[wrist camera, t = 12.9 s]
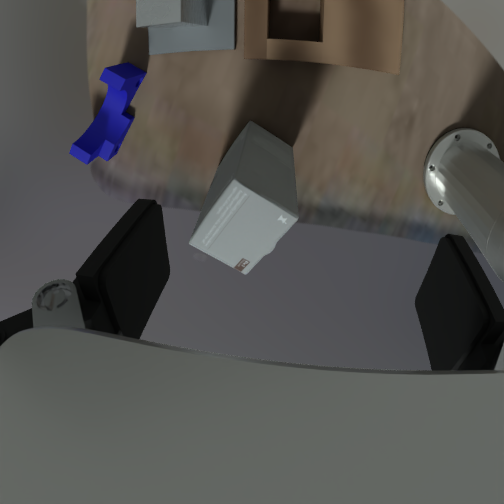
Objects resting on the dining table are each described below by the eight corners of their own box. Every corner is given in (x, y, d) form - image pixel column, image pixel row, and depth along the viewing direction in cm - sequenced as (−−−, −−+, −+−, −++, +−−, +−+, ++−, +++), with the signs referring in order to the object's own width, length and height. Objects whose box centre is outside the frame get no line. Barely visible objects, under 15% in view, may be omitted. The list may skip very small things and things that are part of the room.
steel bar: (208, -6, 27) (181, -21, 19) (207, 26, 29) (180, 21, 21) (173, -3, 27) (136, -13, 19) (173, 28, 29) (136, 27, 21)
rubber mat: (235, -29, 25) (234, -31, 25) (235, 49, 31) (234, 49, 31) (150, -20, 26) (147, -21, 25) (151, 54, 32) (149, 55, 31)
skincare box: (250, 118, 36) (228, 167, 24) (299, 151, 38) (305, 217, 26) (214, 170, 41) (178, 242, 28) (260, 199, 43) (246, 280, 30)
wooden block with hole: (393, -6, 25) (404, -11, 21) (388, 71, 31) (398, 75, 27) (249, -22, 26) (245, -29, 23) (248, 57, 32) (244, 58, 29)
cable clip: (117, 153, 40) (96, 170, 36) (92, 137, 39) (69, 153, 34) (156, 78, 34) (136, 85, 29) (128, 62, 33) (104, 67, 28)
